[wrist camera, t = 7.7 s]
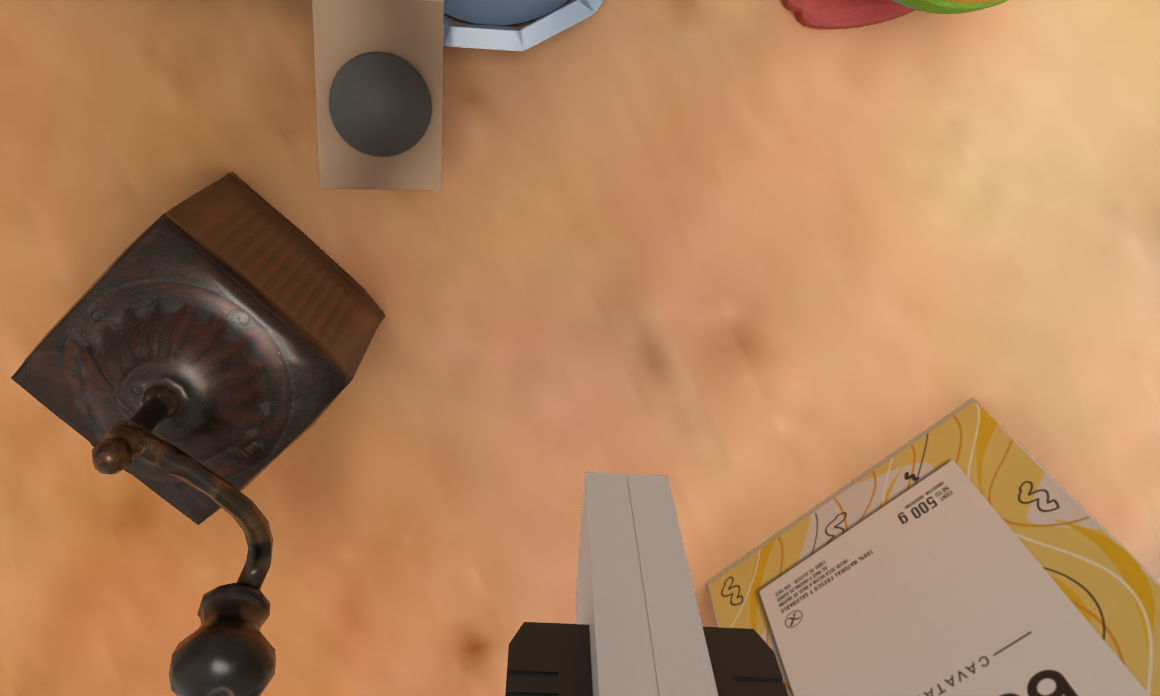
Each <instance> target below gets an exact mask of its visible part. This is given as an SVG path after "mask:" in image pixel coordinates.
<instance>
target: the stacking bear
mask: <svg viewBox="0 0 1160 696" xmlns="http://www.w3.org/2000/svg"><path fill="white" fill-rule="evenodd" d="M782 1H783V4H784V5H785V7H786V8H787V9H789V10H791V11H793V12H794V13H795V16H796V18H797V20H798V21H799V22H800V23H802V24H803V25H805V26H808V27H811V28H817V29H846V28H855V27H862V26H868V25H873V24H877V23H881V22H885V21H888V20H891V19H894V18H897V17H900V16H903V15H905V14H907V13H910V12H912V11H914V10H919V11H925V12H930V13H940V14H956V13H965V12H971V11H976V10H981V9H985V8H988V7H992V6H995V5H998V4H1000V3H1003V2H1006V1H1008V0H782Z"/></svg>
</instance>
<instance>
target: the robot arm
mask: <svg viewBox="0 0 1160 696" xmlns="http://www.w3.org/2000/svg"><path fill="white" fill-rule="evenodd" d="M505 696H789V695H788V692H787V689H786V686H785V683H783V677H782V674H781V671H780V668H779V665H778V662H777V659H776V656H775V653H774V651H773V650H772V649H771V648H770V647H769V646H768V644H767V643H766V642H765V641H764V640H763V639H762V638H761V637H760V636H759V634H758V633H757V632H756V631H755V630H754V629H747V628H721V627H702V622H701V618H700V614H699V609H698V605H697V601H696V596H695V592H694V588H693V583H692V579H691V575H690V570H689V566H688V561H687V557H686V553H685V548H684V544H683V540H682V535H681V531H680V527H679V522H678V518H677V514H676V509H675V505H674V500H673V496H672V492H671V487H670V483H669V479H668V476H662V475H640V474H619V473H597V472H585V484H584V497H583V509H582V522H581V535H580V548H579V561H578V573H577V586H576V624H561V623H535V622H524V623H523V625H522V626H521V628H520V629H519V630H518V632H517V633H516V635H515V636H514V638H513V639H512V641H511V642H510V644H509V652H508V666H507V680H506V695H505Z"/></svg>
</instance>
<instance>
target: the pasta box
mask: <svg viewBox="0 0 1160 696" xmlns="http://www.w3.org/2000/svg"><path fill="white" fill-rule="evenodd" d="M706 583H707V587H708V591H709V595H710V599H711V603H712V607H713V611H714V615H715V619H716V623H717V627H721V628H747V629H754V630H755V631H756V632H757V633H758V634H759V636H760V637H761V638H762V639H763V640H764V641H765V642H766V643H767V644H768V646H769V647H770V648H771V649H772V650H773V651H774V653H775V656H776V659H777V662H778V665H779V668H780V671H781V674H782V677H783V683H785V686H786V689H787V692H788V695H789V696H1160V582H1159V581H1158V580H1157V579H1156V578H1155V577H1154V576H1153V575H1152V574H1151V573H1150V572H1149V571H1148V570H1147V569H1146V568H1145V567H1144V566H1143V565H1142V564H1141V563H1140V562H1139V561H1138V560H1137V559H1136V558H1135V557H1134V556H1133V555H1132V554H1131V553H1130V552H1129V551H1128V550H1127V549H1126V548H1125V547H1124V546H1123V545H1122V544H1121V543H1120V542H1119V541H1118V540H1117V539H1116V538H1114V537H1113V536H1112V535H1111V534H1110V533H1109V532H1108V531H1107V530H1106V529H1105V528H1104V527H1103V526H1102V525H1101V524H1100V523H1099V522H1098V521H1097V520H1096V519H1095V518H1094V517H1093V516H1092V515H1091V514H1090V513H1089V512H1088V511H1087V510H1086V509H1085V508H1084V507H1083V506H1082V505H1081V504H1080V503H1079V502H1078V501H1077V500H1076V499H1075V498H1074V497H1073V496H1072V495H1071V494H1070V493H1069V492H1068V491H1067V490H1066V489H1065V488H1064V487H1063V486H1062V485H1061V484H1060V483H1059V482H1058V481H1057V480H1056V479H1055V478H1054V477H1053V476H1052V475H1051V474H1050V473H1049V472H1048V471H1047V470H1046V469H1045V468H1044V467H1043V466H1042V465H1041V464H1040V463H1039V462H1038V461H1037V460H1036V459H1035V458H1034V457H1033V456H1032V455H1031V454H1030V453H1029V452H1028V451H1027V450H1026V449H1025V448H1024V447H1023V446H1022V445H1021V444H1020V443H1019V442H1018V441H1017V440H1015V439H1014V438H1013V437H1012V436H1011V435H1010V434H1009V433H1008V432H1007V431H1006V430H1005V429H1004V428H1003V427H1002V426H1001V425H1000V424H999V423H998V422H997V421H996V420H995V419H994V418H993V417H992V416H991V415H990V414H989V413H988V412H987V411H986V410H985V409H984V408H983V407H982V406H981V405H980V404H979V403H978V402H977V401H976V400H975V399H974V398H972V399H970V400H969V401H967V402H966V403H964V404H963V405H961V406H960V407H959V408H957V409H956V410H954V411H953V412H951V413H950V414H948V415H947V416H946V417H944V418H943V419H941V420H940V421H938V422H937V423H935V424H934V425H933V426H931V427H930V428H928V429H927V430H925V431H924V432H922V433H921V434H920V435H918V436H917V437H915V438H914V439H912V440H911V441H909V442H908V443H907V444H905V445H904V446H902V447H901V448H899V449H898V450H896V451H895V452H893V453H892V454H891V455H889V456H888V457H886V458H885V459H883V460H882V461H880V462H879V463H878V464H876V465H875V466H873V467H872V468H870V469H869V470H867V471H866V472H865V473H863V474H862V475H860V476H859V477H857V478H856V479H854V480H853V481H852V482H850V483H849V484H847V485H846V486H844V487H843V488H841V489H840V490H839V491H837V492H836V493H834V494H833V495H831V496H830V497H828V498H827V499H826V500H824V501H823V502H821V503H820V504H818V505H817V506H815V507H814V508H813V509H811V510H810V511H808V512H807V513H805V514H804V515H802V516H801V517H800V518H798V519H797V520H795V521H794V522H792V523H791V524H789V525H788V526H786V527H785V528H784V529H782V530H781V531H779V532H778V533H776V534H775V535H773V536H772V537H771V538H769V539H768V540H766V541H765V542H763V543H762V544H760V545H759V546H758V547H756V548H755V549H753V550H752V551H750V552H749V553H747V554H746V555H745V556H743V557H742V558H740V559H739V560H737V561H736V562H734V563H733V564H732V565H730V566H729V567H727V568H726V569H724V570H723V571H721V572H720V573H719V574H717V575H716V576H714V577H713V578H711V579H710V580H708V581H707V582H706Z"/></svg>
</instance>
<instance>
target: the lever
mask: <svg viewBox="0 0 1160 696" xmlns="http://www.w3.org/2000/svg"><path fill="white" fill-rule="evenodd" d="M312 12H313V38H314V64H315V90H316V116H317V141H318V167H319V189H382V190H442V118H443V20H444V0H312Z"/></svg>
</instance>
